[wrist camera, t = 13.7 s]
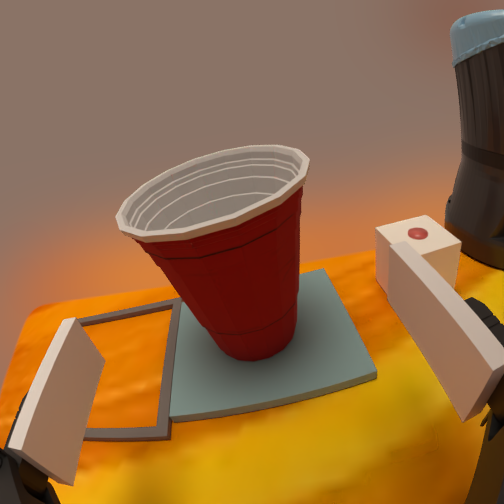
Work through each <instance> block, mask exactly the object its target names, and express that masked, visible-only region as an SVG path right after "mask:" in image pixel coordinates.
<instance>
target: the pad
mask: <svg viewBox="0 0 504 504" xmlns="http://www.w3.org/2000/svg"><path fill="white" fill-rule="evenodd" d="M376 377H377V369H376V367H375V365H374V363H373V361H372V359H371V357H370V355H369V353H368V351H367V349H366V347H365V345H364V343H363V341H362V339H361V337H360V335H359V333H358V332H357V330H356V328H355V326H354V324H353V322H352V320H351V318H350V316H349V314H348V312H347V310H346V309H345V307H344V305H343V303H342V301H341V299H340V297H339V296H338V294H337V292H336V290H335V288H334V286H333V284H332V283H331V281H330V279H329V277H328V275H327V274H326V272H325V270H324V268H323V269H319V270H315V271H311V272H307V273H303V274H299V292H298V295H297V323H296V327H295V331H294V335H293V339H292V340H291V341H290V342H289V344H288V345H287V346H286V347H285V348H284V350H282V351H280V352H279V353H277V354H275V355H273V356H272V357H270V358H267V359H262V360H258V361H254V362H252V361H240V360H236V359H234V358H232V357H230V356H228V355H226V354H225V352H224V351H222V350H221V349H220V348H219V347H218V345H217V344H216V343H215V341H214V340H213V338H212V337H211V336H210V334H209V333H208V331H207V330H206V328H204V327H202V326H201V324H200V323H199V322H198V320H197V319H196V317H195V316H194V315H193V313H192V312H191V311H190V309H189V308H188V306H187V305H186V304H185V302H182V304H181V311H180V319H179V327H178V335H177V343H176V352H175V361H174V370H173V380H172V391H171V402H170V414H169V417H170V418H171V419H172V420H173V422H174V423H175V422H185V421H194V420H202V419H209V418H216V417H223V416H229V415H235V414H241V413H247V412H252V411H257V410H262V409H267V408H272V407H276V406H281V405H285V404H290V403H294V402H298V401H302V400H306V399H310V398H314V397H317V396H321V395H324V394H328V393H332V392H335V391H338V390H342V389H345V388H348V387H351V386H355V385H358V384H361V383H364V382H367V381H370V380H373V379H375V378H376Z"/></svg>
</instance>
